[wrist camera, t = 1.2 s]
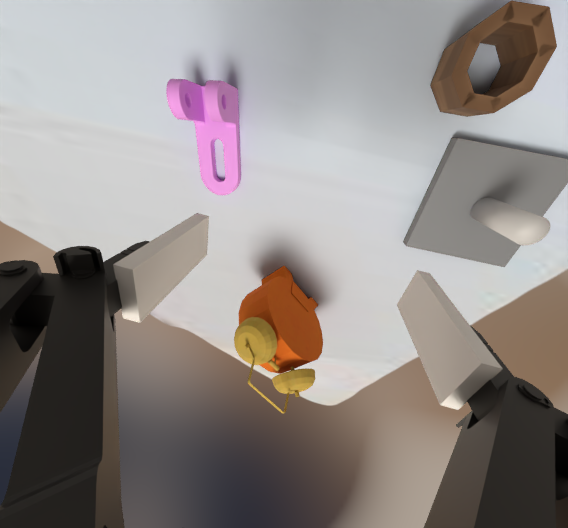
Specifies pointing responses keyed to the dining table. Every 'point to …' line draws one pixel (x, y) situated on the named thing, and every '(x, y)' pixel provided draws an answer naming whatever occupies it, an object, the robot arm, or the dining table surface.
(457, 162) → the post
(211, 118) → the bracket
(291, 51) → the dining table surface
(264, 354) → the alarm clock
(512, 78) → the collar
